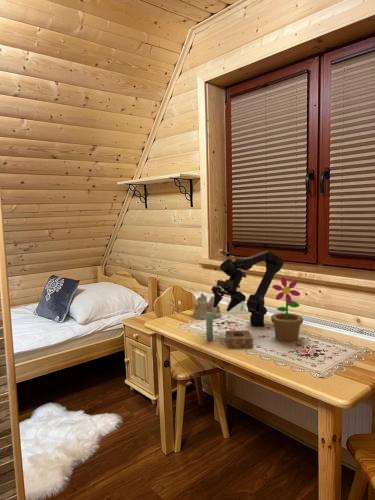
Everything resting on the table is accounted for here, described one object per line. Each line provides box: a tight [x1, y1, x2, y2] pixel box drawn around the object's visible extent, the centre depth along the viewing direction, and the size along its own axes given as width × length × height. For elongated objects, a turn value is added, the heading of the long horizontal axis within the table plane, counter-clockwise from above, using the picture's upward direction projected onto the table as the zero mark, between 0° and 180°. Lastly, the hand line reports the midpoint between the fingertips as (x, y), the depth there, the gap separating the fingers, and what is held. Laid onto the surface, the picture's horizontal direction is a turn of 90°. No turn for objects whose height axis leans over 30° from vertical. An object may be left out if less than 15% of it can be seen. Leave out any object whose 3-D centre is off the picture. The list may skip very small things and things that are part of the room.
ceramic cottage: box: [192, 292, 223, 321], centre depth 212 cm, size 16×16×15 cm
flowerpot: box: [270, 276, 304, 343], centre depth 171 cm, size 14×14×30 cm
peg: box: [205, 312, 214, 342], centre depth 172 cm, size 3×3×13 cm
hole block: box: [225, 329, 254, 349], centre depth 168 cm, size 11×11×4 cm
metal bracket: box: [222, 301, 249, 315], centre depth 221 cm, size 14×6×15 cm
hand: (220, 309), depth 176 cm, fingers open, 9 cm apart
